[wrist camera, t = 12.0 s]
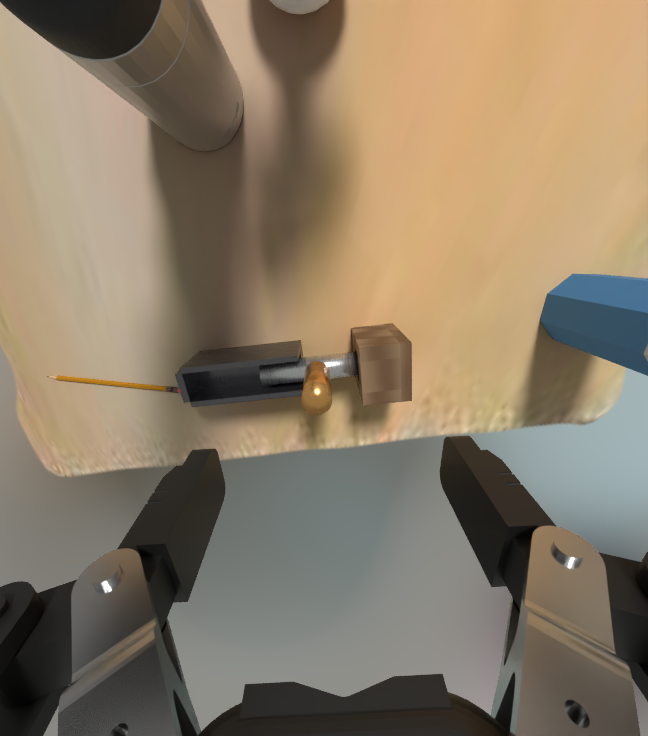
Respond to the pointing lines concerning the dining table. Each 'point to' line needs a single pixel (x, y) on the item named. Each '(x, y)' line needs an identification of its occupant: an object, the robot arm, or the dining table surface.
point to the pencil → (116, 383)
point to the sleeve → (236, 374)
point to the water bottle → (601, 317)
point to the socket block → (383, 364)
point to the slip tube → (312, 377)
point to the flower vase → (299, 5)
